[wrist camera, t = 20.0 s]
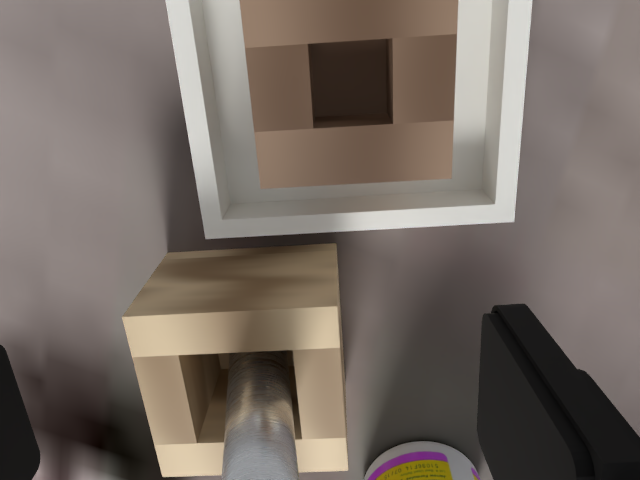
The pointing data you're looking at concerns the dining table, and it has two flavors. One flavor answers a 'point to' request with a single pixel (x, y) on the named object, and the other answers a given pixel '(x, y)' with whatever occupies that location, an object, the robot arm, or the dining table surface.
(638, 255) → the dining table surface
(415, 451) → the supplement bottle
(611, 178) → the dining table surface
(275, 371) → the steel pin
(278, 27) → the walnut block
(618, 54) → the dining table surface
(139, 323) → the oak block
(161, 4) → the dining table surface
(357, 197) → the tray
